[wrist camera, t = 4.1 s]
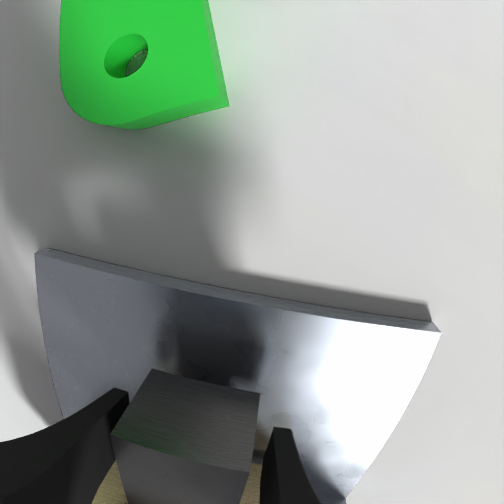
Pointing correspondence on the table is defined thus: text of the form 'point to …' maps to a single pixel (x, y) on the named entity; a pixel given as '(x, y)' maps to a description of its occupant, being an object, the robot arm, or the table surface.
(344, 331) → the block
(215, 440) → the grey and tan block
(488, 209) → the table surface
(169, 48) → the mechanical part
